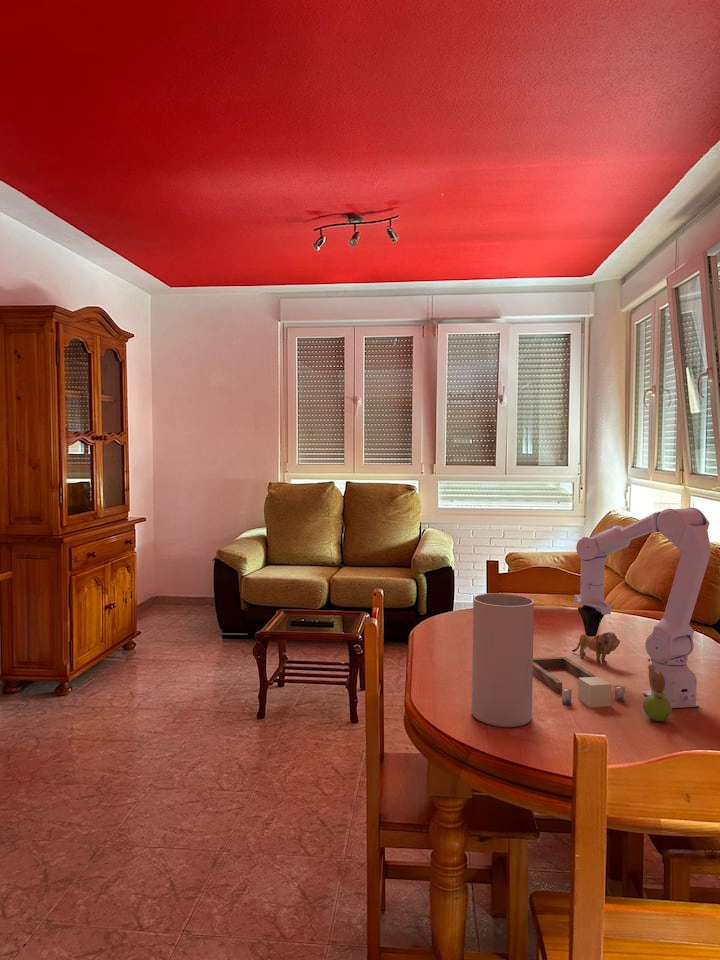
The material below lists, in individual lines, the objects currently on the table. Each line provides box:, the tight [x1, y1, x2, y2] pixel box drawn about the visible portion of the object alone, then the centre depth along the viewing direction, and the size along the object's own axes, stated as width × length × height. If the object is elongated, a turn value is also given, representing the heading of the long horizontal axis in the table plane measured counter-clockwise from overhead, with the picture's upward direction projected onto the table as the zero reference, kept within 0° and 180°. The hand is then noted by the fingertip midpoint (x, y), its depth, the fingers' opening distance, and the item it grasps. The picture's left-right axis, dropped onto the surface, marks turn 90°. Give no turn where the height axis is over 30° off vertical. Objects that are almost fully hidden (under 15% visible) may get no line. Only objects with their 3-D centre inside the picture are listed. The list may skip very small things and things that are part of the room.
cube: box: [577, 676, 612, 708], centre depth 144 cm, size 5×5×5 cm
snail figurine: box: [642, 658, 673, 722], centre depth 135 cm, size 5×6×12 cm
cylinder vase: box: [471, 592, 535, 728], centre depth 135 cm, size 12×12×25 cm
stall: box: [533, 656, 597, 694], centre depth 159 cm, size 18×11×2 cm, turn 10°
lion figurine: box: [571, 631, 621, 666], centre depth 174 cm, size 15×5×9 cm, turn 32°
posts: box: [561, 685, 626, 706], centre depth 144 cm, size 2×15×3 cm, turn 100°
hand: (591, 635), depth 164 cm, fingers closed
